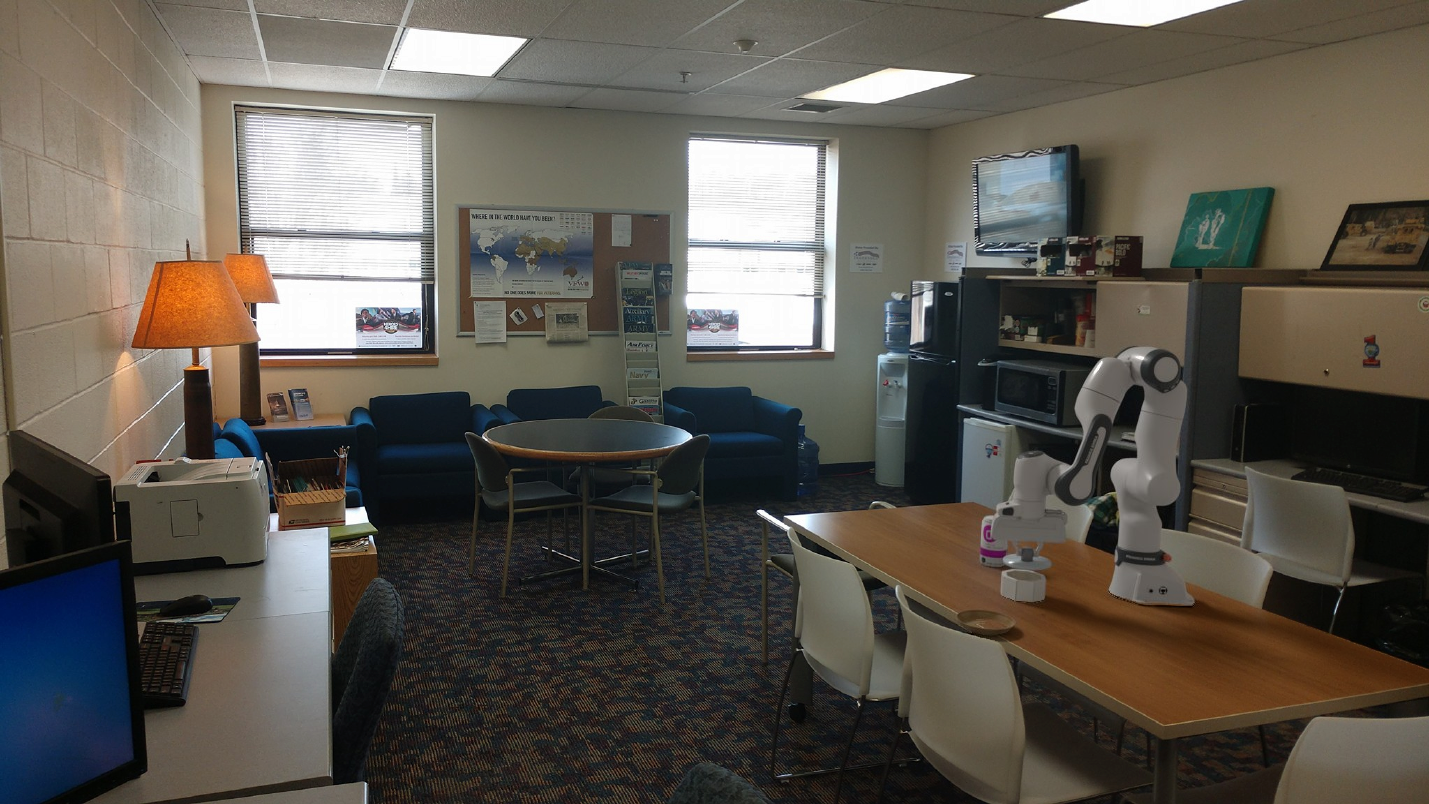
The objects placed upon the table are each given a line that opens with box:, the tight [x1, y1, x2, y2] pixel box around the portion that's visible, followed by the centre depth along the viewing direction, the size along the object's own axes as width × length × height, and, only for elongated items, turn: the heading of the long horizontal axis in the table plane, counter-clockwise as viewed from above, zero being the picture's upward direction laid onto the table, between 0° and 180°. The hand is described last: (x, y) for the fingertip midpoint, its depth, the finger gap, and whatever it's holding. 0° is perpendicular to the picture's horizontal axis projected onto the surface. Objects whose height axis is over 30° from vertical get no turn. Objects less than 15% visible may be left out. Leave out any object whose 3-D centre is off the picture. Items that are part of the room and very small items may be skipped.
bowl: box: [1000, 568, 1047, 602], centre depth 273 cm, size 12×12×6 cm
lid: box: [1003, 546, 1052, 571], centre depth 272 cm, size 13×13×4 cm
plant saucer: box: [955, 609, 1016, 636], centre depth 247 cm, size 15×15×3 cm
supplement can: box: [979, 514, 1009, 568], centre depth 304 cm, size 8×8×15 cm
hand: (1027, 556), depth 272 cm, fingers closed on lid, 3 cm apart
